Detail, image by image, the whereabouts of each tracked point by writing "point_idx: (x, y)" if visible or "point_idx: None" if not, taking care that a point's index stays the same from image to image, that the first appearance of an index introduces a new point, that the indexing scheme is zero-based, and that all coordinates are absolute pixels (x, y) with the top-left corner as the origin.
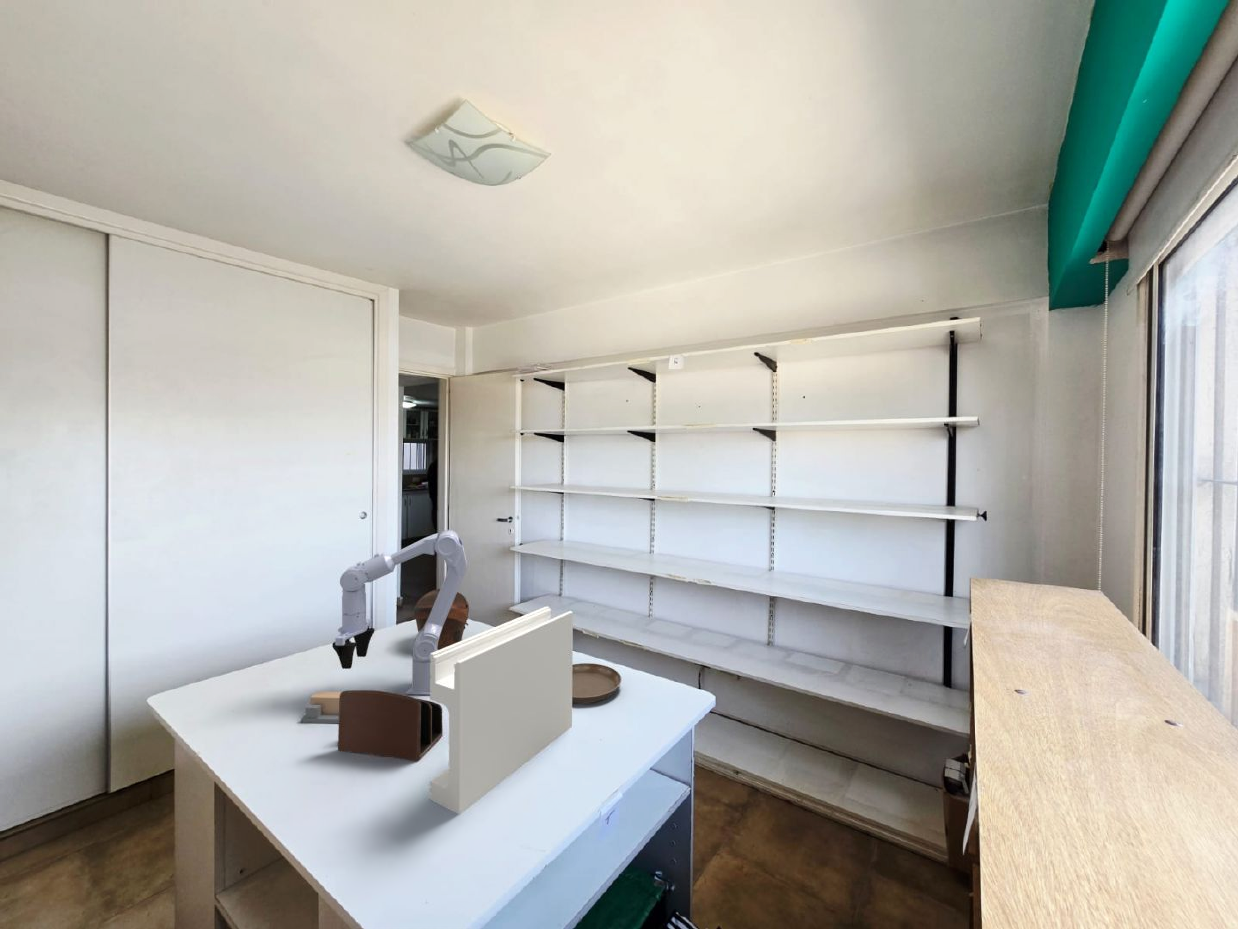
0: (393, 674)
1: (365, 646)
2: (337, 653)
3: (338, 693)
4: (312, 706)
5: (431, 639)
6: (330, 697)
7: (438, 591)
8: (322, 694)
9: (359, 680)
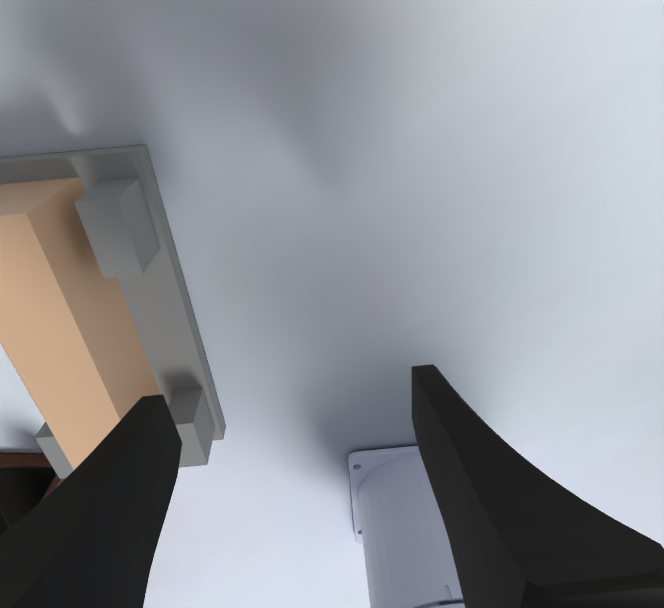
0: (576, 303)
1: (441, 505)
2: (6, 539)
3: (71, 359)
4: None
5: None
6: (6, 348)
7: None
8: (8, 276)
9: (513, 156)
